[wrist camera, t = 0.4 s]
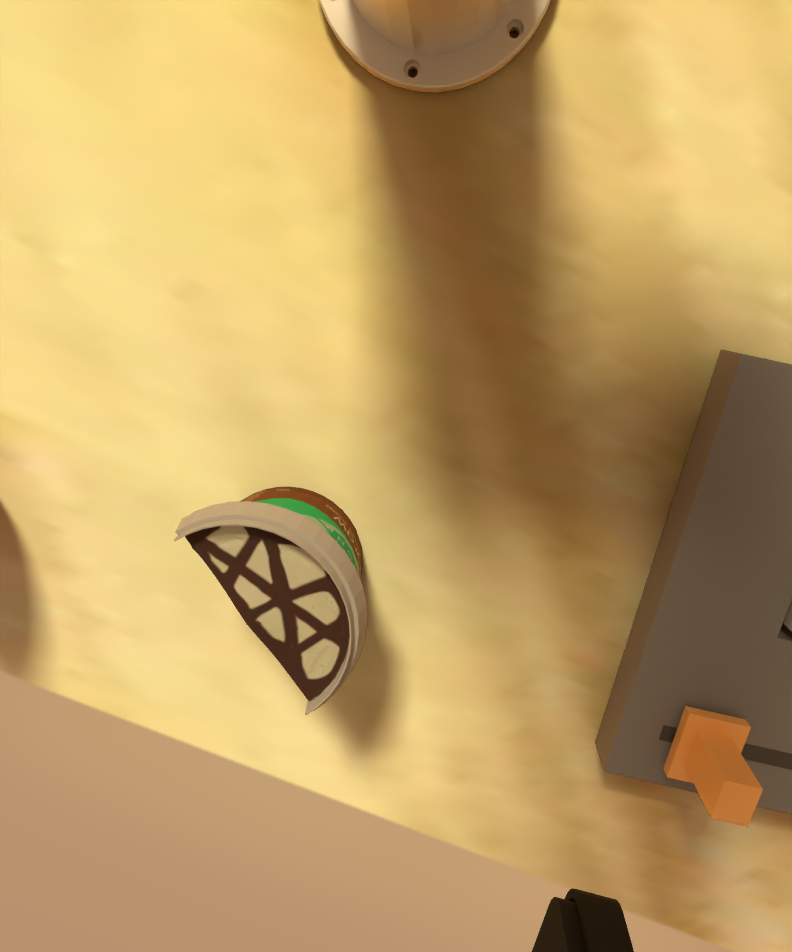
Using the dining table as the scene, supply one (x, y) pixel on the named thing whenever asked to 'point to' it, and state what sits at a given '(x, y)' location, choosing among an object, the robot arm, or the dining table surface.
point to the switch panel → (718, 591)
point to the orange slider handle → (715, 764)
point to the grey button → (789, 618)
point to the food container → (290, 580)
